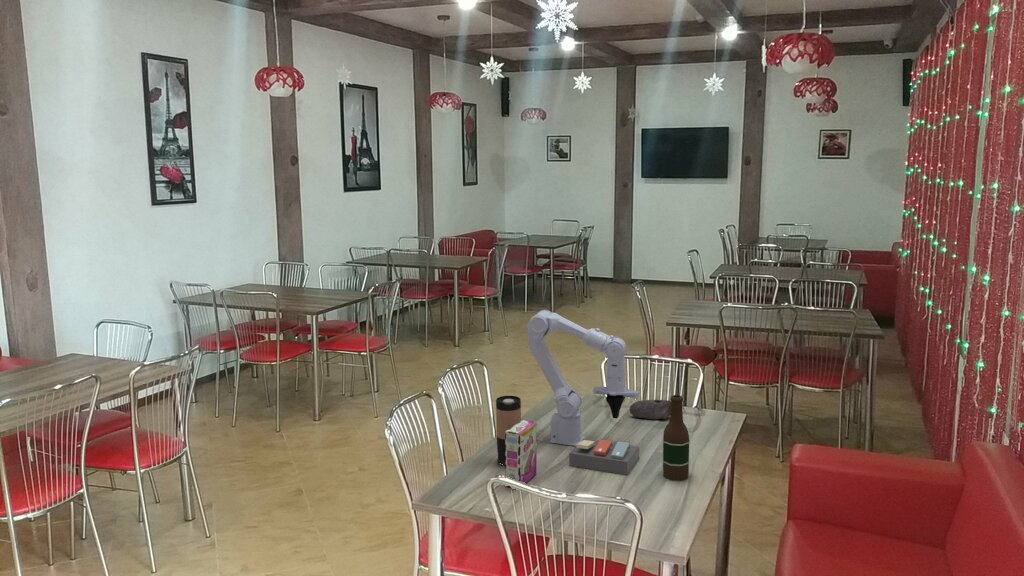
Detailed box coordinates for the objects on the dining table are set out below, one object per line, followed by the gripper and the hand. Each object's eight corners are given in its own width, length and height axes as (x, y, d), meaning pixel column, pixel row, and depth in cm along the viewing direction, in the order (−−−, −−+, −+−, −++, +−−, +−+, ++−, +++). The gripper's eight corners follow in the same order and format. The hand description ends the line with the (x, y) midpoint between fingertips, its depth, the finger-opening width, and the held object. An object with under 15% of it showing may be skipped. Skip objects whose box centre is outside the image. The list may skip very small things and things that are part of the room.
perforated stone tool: (628, 419, 268) (628, 400, 266) (630, 414, 273) (630, 396, 271) (671, 422, 264) (672, 403, 262) (672, 417, 269) (673, 398, 267)
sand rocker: (576, 447, 228) (576, 443, 228) (584, 443, 235) (584, 439, 235) (587, 449, 227) (587, 445, 227) (595, 444, 233) (595, 441, 233)
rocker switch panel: (569, 465, 228) (569, 452, 228) (583, 450, 240) (583, 437, 239) (627, 475, 221) (627, 461, 220) (639, 458, 232) (639, 445, 232)
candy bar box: (520, 489, 213) (519, 434, 210) (505, 486, 215) (503, 431, 212) (538, 474, 222) (537, 421, 220) (522, 471, 225) (521, 419, 222)
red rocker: (593, 453, 226) (593, 450, 226) (600, 442, 232) (600, 439, 232) (605, 455, 224) (604, 452, 224) (612, 444, 230) (612, 440, 230)
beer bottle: (683, 483, 215) (685, 402, 211) (657, 477, 219) (658, 397, 215) (693, 473, 221) (694, 394, 217) (667, 468, 225) (668, 390, 221)
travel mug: (509, 455, 238) (508, 393, 234) (527, 461, 232) (526, 398, 229) (492, 462, 232) (490, 399, 229) (509, 468, 227) (508, 405, 224)
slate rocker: (611, 457, 224) (611, 454, 223) (618, 444, 229) (617, 441, 229) (623, 459, 222) (622, 456, 222) (629, 445, 228) (629, 442, 227)
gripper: (589, 377, 239) (590, 418, 242) (634, 382, 233) (634, 424, 236) (597, 371, 246) (597, 411, 248) (640, 376, 240) (640, 417, 242)
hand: (615, 417), depth 242 cm, fingers closed
